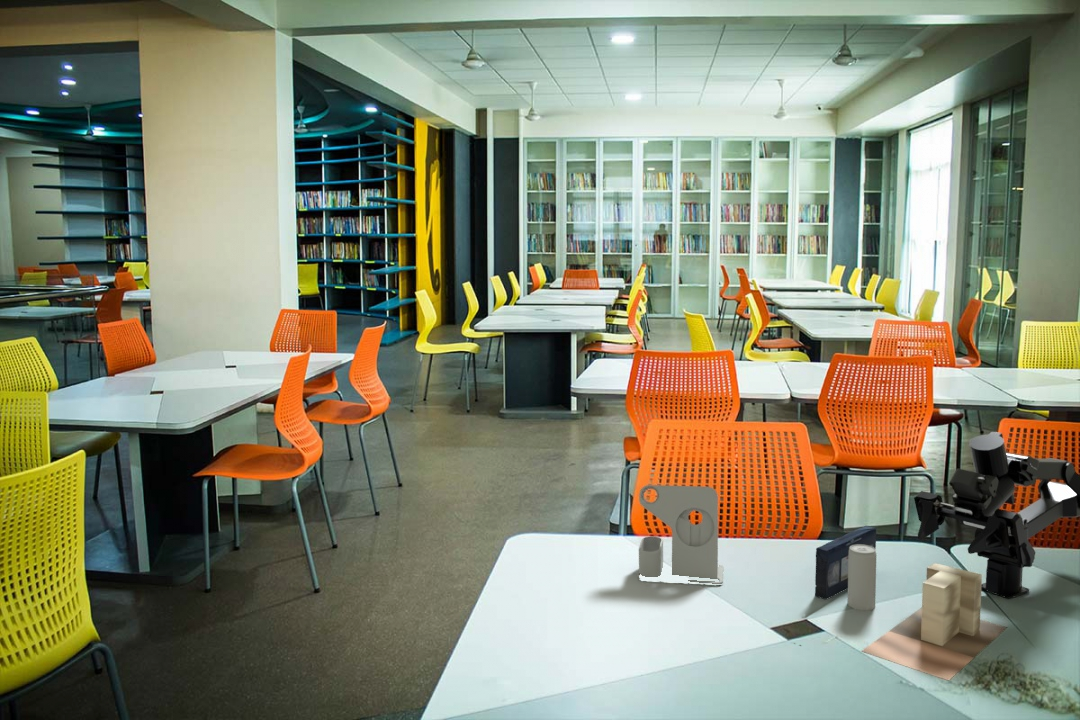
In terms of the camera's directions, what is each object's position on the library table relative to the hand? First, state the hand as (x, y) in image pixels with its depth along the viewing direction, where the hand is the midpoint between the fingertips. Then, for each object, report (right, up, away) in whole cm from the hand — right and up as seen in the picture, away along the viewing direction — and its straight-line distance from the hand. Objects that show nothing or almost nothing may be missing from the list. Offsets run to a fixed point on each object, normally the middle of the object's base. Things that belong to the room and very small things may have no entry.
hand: (943, 544), depth 154 cm
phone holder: (-42, -12, +28) cm, 52 cm away
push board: (-4, -16, -7) cm, 18 cm away
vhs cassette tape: (-10, -13, +20) cm, 25 cm away
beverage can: (-12, -14, +8) cm, 20 cm away
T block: (-2, -14, -5) cm, 15 cm away
